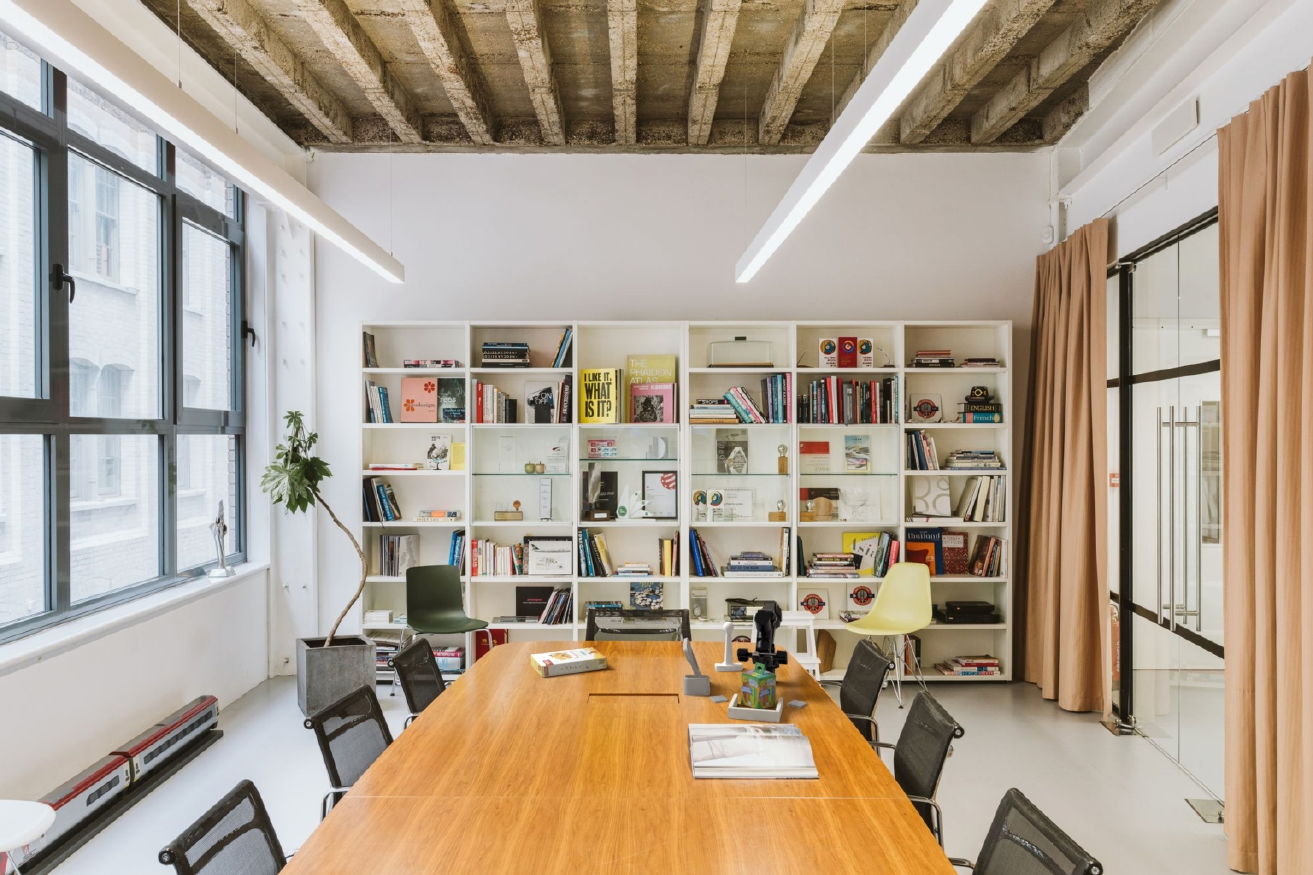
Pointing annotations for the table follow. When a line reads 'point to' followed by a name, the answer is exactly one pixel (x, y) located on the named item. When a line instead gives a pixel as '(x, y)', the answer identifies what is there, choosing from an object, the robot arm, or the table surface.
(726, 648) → the joystick
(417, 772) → the table surface
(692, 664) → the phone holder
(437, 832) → the table surface
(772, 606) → the robot arm
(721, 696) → the tile
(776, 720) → the corral
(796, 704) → the tile
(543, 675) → the cereal box
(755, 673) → the chalk box
